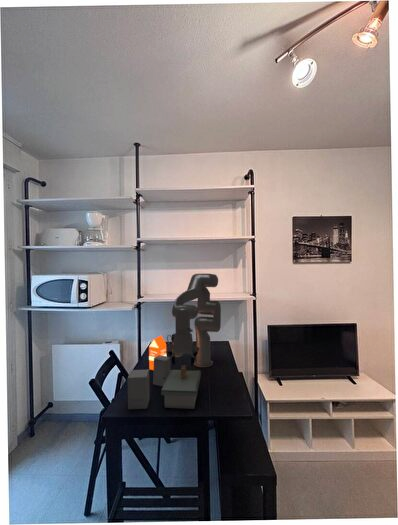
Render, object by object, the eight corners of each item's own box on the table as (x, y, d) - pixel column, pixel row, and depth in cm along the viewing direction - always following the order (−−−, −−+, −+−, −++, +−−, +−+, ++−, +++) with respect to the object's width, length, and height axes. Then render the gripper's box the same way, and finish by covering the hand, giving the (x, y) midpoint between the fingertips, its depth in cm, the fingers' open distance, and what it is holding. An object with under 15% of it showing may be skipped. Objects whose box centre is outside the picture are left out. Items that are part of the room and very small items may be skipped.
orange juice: (149, 369, 162) (148, 338, 162) (157, 364, 170) (156, 334, 170) (159, 371, 158) (158, 339, 158) (166, 366, 166) (166, 335, 166)
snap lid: (171, 373, 140) (171, 360, 140) (200, 374, 138) (200, 361, 138) (161, 394, 117) (161, 379, 117) (196, 396, 116) (195, 380, 116)
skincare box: (152, 384, 141) (152, 358, 141) (158, 380, 147) (158, 354, 147) (165, 387, 138) (165, 360, 138) (171, 382, 143) (170, 356, 143)
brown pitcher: (177, 358, 179) (177, 337, 179) (163, 354, 188) (163, 334, 188) (185, 354, 186) (185, 334, 186) (171, 350, 195) (171, 331, 195)
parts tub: (173, 386, 138) (173, 372, 138) (198, 387, 137) (198, 372, 137) (164, 407, 119) (164, 390, 119) (194, 408, 117) (193, 391, 117)
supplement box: (150, 398, 126) (149, 368, 126) (147, 409, 118) (146, 377, 118) (132, 399, 126) (131, 369, 126) (127, 409, 117) (127, 377, 117)
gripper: (200, 329, 133) (200, 362, 133) (168, 329, 135) (168, 361, 135) (198, 333, 126) (198, 367, 126) (164, 332, 128) (164, 366, 127)
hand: (183, 364), depth 130 cm, fingers open, 9 cm apart
